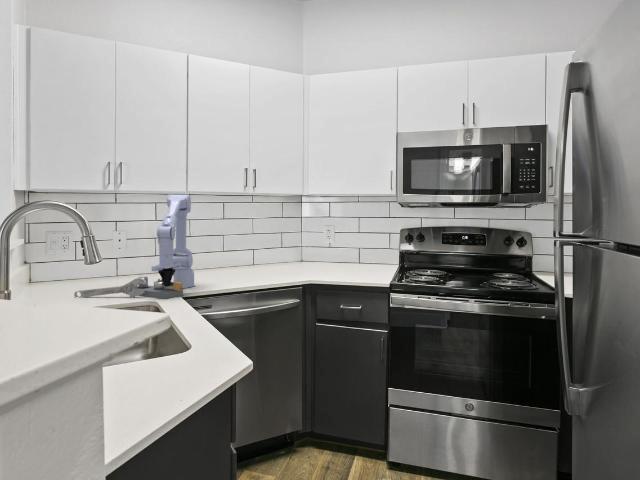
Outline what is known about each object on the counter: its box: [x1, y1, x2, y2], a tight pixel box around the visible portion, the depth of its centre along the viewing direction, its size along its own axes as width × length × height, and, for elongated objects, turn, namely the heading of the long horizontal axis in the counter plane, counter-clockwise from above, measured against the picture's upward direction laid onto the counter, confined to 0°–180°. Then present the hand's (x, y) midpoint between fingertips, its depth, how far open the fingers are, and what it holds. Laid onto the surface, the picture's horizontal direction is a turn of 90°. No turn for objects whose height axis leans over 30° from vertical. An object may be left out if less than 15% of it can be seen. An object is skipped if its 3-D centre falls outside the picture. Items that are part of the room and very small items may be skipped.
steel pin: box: [137, 276, 149, 289], centre depth 206 cm, size 4×4×7 cm
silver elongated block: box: [153, 278, 183, 291], centre depth 201 cm, size 6×14×4 cm, turn 62°
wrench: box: [74, 277, 147, 299], centre depth 196 cm, size 8×2×30 cm
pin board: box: [137, 285, 184, 300], centre depth 202 cm, size 10×24×2 cm, turn 62°
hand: (166, 286), depth 198 cm, fingers closed
